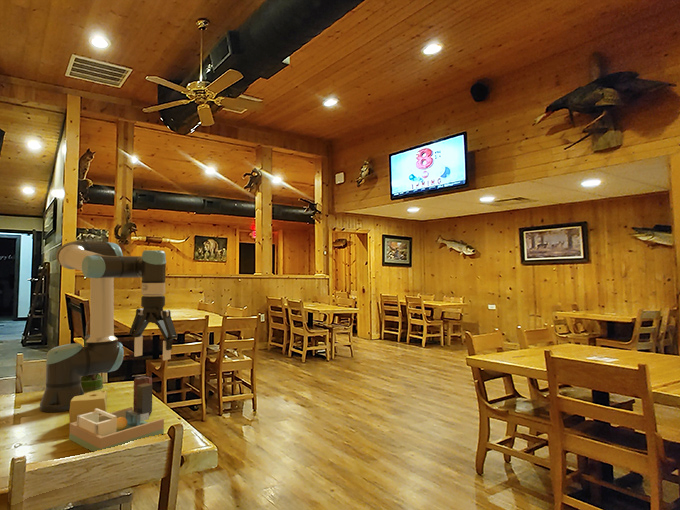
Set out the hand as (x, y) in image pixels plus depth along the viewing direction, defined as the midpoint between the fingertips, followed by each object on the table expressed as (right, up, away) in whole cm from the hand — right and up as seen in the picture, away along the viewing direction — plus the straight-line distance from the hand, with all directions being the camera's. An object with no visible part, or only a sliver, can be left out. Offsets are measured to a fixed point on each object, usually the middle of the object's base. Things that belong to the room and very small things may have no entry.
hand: (152, 357), depth 150 cm
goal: (-11, -21, -14) cm, 28 cm away
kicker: (-3, -21, -3) cm, 21 cm away
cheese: (-23, -24, +2) cm, 33 cm away
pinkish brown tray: (-7, -23, -9) cm, 26 cm away
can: (-8, -24, +11) cm, 28 cm away
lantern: (-47, -25, +46) cm, 70 cm away
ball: (-7, -19, -8) cm, 22 cm away
